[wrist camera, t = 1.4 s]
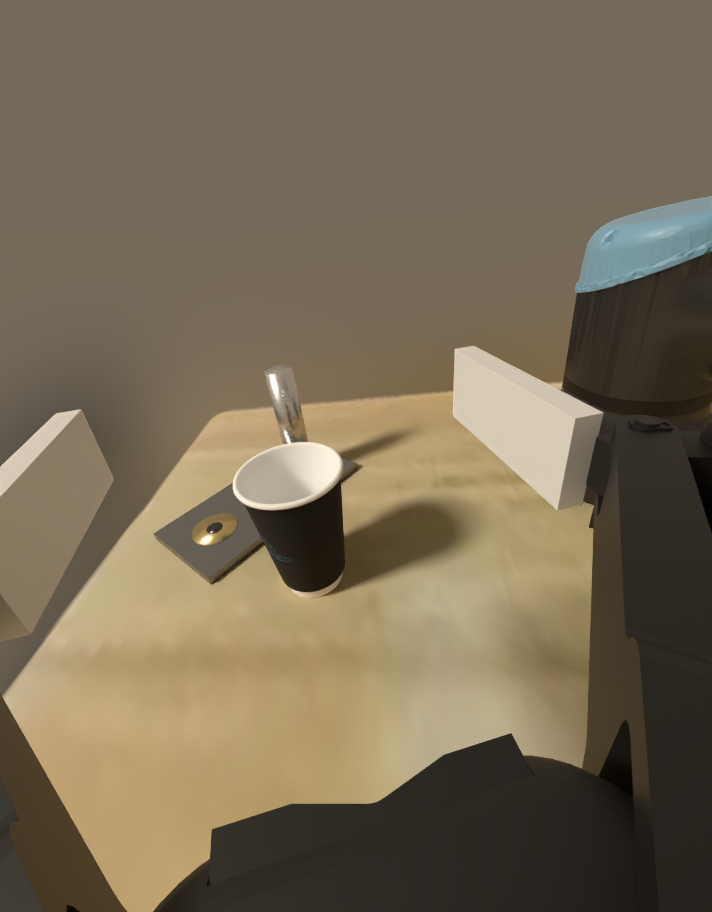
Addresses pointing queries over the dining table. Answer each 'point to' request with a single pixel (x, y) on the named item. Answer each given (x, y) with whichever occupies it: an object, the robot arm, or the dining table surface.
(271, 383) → the post
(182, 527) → the plate
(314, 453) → the dixie cup
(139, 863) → the dining table surface
